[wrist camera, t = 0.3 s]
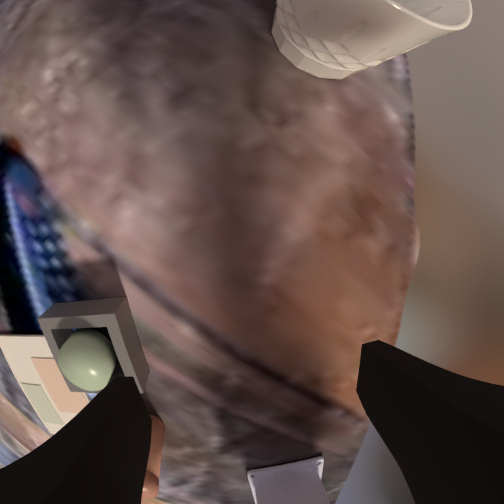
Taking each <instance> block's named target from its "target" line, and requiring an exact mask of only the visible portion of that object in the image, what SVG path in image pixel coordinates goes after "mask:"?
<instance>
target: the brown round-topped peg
mask: <svg viewBox="0 0 504 504" xmlns="http://www.w3.org/2000/svg"><path fill="white" fill-rule="evenodd" d="M149 415H150V417H151V419H152V433H151V447H150V453H149V459H148V464H147V469H146V475H145V480H144V486H143V492H142V498H143V499H151V498H155V497H157V495H158V489H159V473H160V464H161V456H162V448H163V440H164V433H165V425H164V423H163V422H162V421H161V420H160V419H159V418H158V417H156V416H154V415H152V414H149Z"/></svg>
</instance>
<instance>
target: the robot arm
mask: <svg viewBox="0 0 504 504" xmlns="http://www.w3.org/2000/svg"><path fill="white" fill-rule="evenodd" d="M356 391H357V394H358V396H359V398H360V401H361V403H362V405H363V408H364V410H365V412H366V414H367V416H368V417H369V419H370V421H371V422H372V424H373V425H374V427H375V428H376V430H377V432H378V433H379V435H380V436H381V438H382V439H383V441H384V442H385V444H386V446H387V447H388V449H389V450H390V452H391V453H392V455H393V457H394V458H395V460H396V461H397V463H398V465H399V467H400V469H401V471H402V473H403V475H404V477H405V479H406V482H407V484H408V486H409V488H410V491H411V493H412V495H413V499H414V501H415V504H504V386H501V385H496V384H491V383H487V382H482V381H479V380H475V379H471V378H467V377H465V376H462V375H459V374H456V373H453V372H451V371H448V370H445V369H443V368H440V367H438V366H435V365H433V364H431V363H428V362H426V361H424V360H422V359H419V358H417V357H415V356H413V355H411V354H409V353H407V352H404V351H402V350H400V349H398V348H396V347H394V346H392V345H389V344H387V343H385V342H382V341H380V340H376V341H373V342H369V343H365V344H362V349H361V358H360V367H359V374H358V381H357V388H356ZM151 433H152V419H151V417H150V415H149V413H148V410H147V408H146V406H145V404H144V401H143V399H142V397H141V394H140V392H139V389H138V387H137V385H136V382H135V379H134V377H133V376H130V377H115V378H114V379H113V380H112V381H111V382H110V383H109V384H108V385H106V386H105V387H104V388H103V389H102V390H101V391H100V392H99V393H98V394H97V395H96V396H95V397H94V398H93V399H92V400H91V401H90V402H89V403H88V404H87V405H86V406H85V407H84V408H83V409H82V410H81V411H80V412H79V413H78V414H77V415H76V416H75V417H74V418H73V419H71V420H70V421H69V422H68V423H67V424H66V425H65V426H64V427H62V428H61V429H60V430H59V431H58V432H57V433H56V434H54V435H53V436H52V437H51V438H50V439H48V440H47V441H46V442H44V443H43V444H42V445H40V446H39V447H37V448H36V449H34V450H33V451H32V452H30V453H29V454H27V455H25V456H24V457H22V458H20V459H18V460H16V461H15V462H13V463H11V464H9V465H7V466H6V467H4V468H1V469H0V504H141V498H142V492H143V486H144V480H145V475H146V469H147V464H148V459H149V453H150V447H151ZM323 464H324V458H323V457H322V456H319V457H315V458H311V459H307V460H303V461H298V462H294V463H289V464H284V465H278V466H273V467H267V468H260V469H253V470H249V471H247V476H248V480H249V483H250V487H251V490H252V494H253V497H254V501H255V504H330V503H329V501H328V498H327V495H326V493H325V490H324V487H323V484H322V482H321V477H322V471H323Z"/></svg>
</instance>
